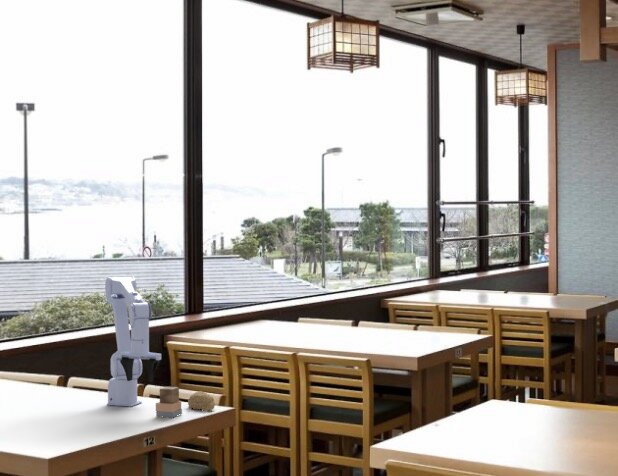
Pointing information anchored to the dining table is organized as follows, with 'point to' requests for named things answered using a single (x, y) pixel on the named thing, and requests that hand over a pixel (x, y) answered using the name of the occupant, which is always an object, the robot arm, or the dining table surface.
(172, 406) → the slab top
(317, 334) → the dining table surface
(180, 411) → the slab bottom
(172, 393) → the walnut block
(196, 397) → the stone tool
